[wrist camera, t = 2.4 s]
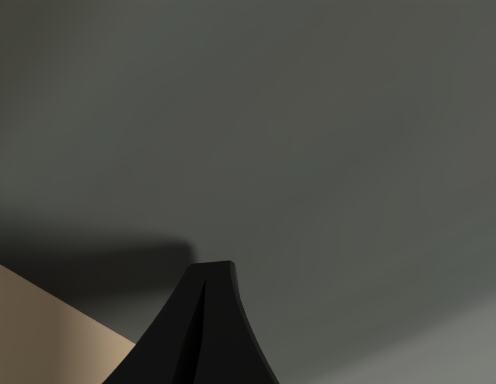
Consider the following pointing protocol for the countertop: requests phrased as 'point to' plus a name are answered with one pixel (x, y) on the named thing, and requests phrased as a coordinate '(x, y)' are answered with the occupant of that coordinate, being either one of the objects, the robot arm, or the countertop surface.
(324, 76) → the countertop surface
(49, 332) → the carton
